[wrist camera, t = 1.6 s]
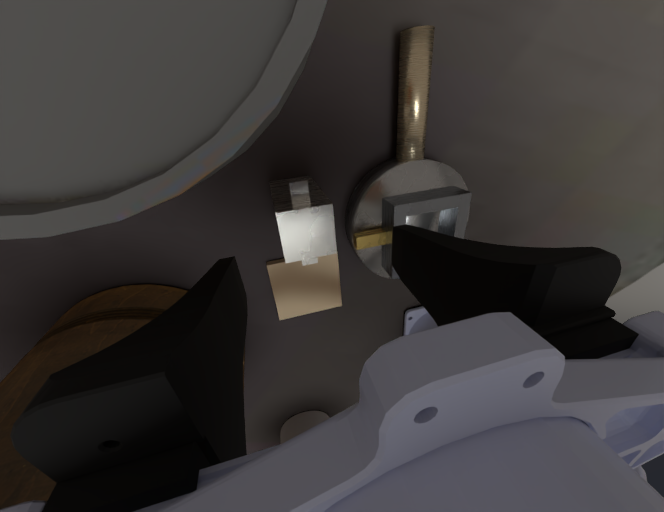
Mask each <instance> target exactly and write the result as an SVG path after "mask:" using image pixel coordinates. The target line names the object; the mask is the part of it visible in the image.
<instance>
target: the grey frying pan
mask: <svg viewBox="0 0 664 512" xmlns="http://www.w3.org/2000/svg"><path fill="white" fill-rule="evenodd" d="M434 29H435V27H434V26H430V25H428V26H417V27H412V28H408V29H405V30H402V31H401V32H400V58H399V88H398V118H397V148H396V157H394V158H392V159H389V160H386V161H384V162H382V163H381V164H379V165H377V166H376V167H374V168H373V169H372V170H371V171H369V172H368V173H367V174H366V175H365V176H364V177H363V178H362V180H361V181H360V182H359V183H358V185H357V186H356V188H355V189H354V191H353V193H352V195H351V197H350V200H349V202H348V206H347V209H346V216H345V228H346V234H347V237H348V240H349V242H350V245H351V246H352V248H353V249H354V251H355V252H356V253H357V255H358V256H359V258H360V259H361V260H362V262H363V263H364V264H365V265H366V267H367V268H368V269H370V270H371V271H372V272H374V273H375V274H377V275H379V276H382V277H385V278H390V279H392V278H391V277H390V276H389V275H388V273H387V272H386V271H385V270H384V268H383V267H382V266H381V259H382V245H380V246H375V247H370V248H365V249H360V250H357V249H356V248H355V247H354V243H353V233H359V232H364V231H369V230H374V229H380V228H382V197H388V196H394V195H400V194H406V193H412V192H418V191H424V190H430V189H436V188H442V187H448V186H456V187H459V188H461V189H464V190H467V191H468V189H467V186H466V184H465V182H464V180H463V179H462V177H461V176H460V175H459V174H458V173H457V172H456V171H455V170H454V169H453V168H451V167H450V166H448V165H446V164H444V163H441V162H437V161H434V160H430V159H427V158H424V151H425V138H426V126H427V114H428V102H429V90H430V78H431V65H432V53H433V41H434ZM469 211H470V207H469ZM439 217H440V211H434V212H429V213H424V214H418V215H413V216H407V217H406V225H412V226H416V227H420V228H424V229H428V230H431V231H435V232H438V225H439ZM468 218H469V212H468ZM468 218H467V222H468ZM466 225H467V224H466ZM394 279H400V278H394Z"/></svg>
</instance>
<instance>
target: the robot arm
mask: <svg viewBox="0 0 664 512" xmlns="http://www.w3.org/2000/svg"><path fill="white" fill-rule="evenodd" d="M391 264H392V266H393V268H394V269H395V271H396V273H397V274H398V276H399V278H400V279H401V280H402V282H403V283H404V284H405V285H406V287H407V288H408V289H409V290H410V291H411V293H412V294H413V295H414V296H415V297H416V299H417V300H418V301H419V302H420V303H421V304H422V306H421V307H417V308H413V309H409V310H407V311H406V312H405V319H404V334H403V336H401V337H399V338H397V339H395V340H392V341H390V342H388V343H386V344H384V345H382V346H380V347H379V348H378V349H377V350H376V351H375V352H374V353H373V354H372V355H371V356H370V357H369V358H368V359H367V361H366V362H365V363H364V367H363V370H362V373H361V376H360V379H359V385H360V399H359V402H358V403H356V404H354V405H353V406H351V407H349V408H347V409H345V410H343V411H342V412H340V413H338V414H336V415H334V416H332V417H330V418H329V419H327V420H325V421H323V422H321V423H319V424H318V425H316V426H314V427H312V428H310V429H308V430H306V431H305V432H303V433H301V434H299V435H297V436H295V437H293V438H292V439H290V440H288V441H286V442H284V443H282V444H280V445H276V446H273V447H270V448H267V449H264V450H261V451H257V452H254V453H251V454H248V455H247V454H246V438H245V419H244V394H243V357H244V346H245V336H246V325H247V298H246V292H245V289H244V286H243V282H242V279H241V276H240V272H239V269H238V266H237V263H236V259H235V256H234V257H229V258H224V259H219V260H218V261H217V262H216V263H215V264H214V265H213V266H212V268H211V269H210V270H209V271H208V272H207V273H206V274H205V275H204V276H203V277H202V278H201V279H200V280H199V281H198V282H197V283H196V284H195V285H194V286H193V287H192V288H191V289H190V290H189V291H188V292H187V293H186V294H185V295H184V296H183V297H182V298H180V299H179V300H178V301H177V302H176V303H175V304H173V305H172V306H171V307H170V308H168V309H167V310H166V311H164V312H163V313H162V314H160V315H159V316H158V317H156V318H155V319H153V320H152V321H150V322H149V323H147V324H146V325H144V326H142V327H141V328H139V329H138V330H136V331H135V332H133V333H132V334H130V335H128V336H126V337H125V338H123V339H121V340H120V341H118V342H116V343H114V344H112V345H110V346H109V347H107V348H105V349H103V350H101V351H99V352H97V353H95V354H93V355H91V356H89V357H87V358H85V359H83V360H81V361H79V362H77V363H74V364H72V365H70V366H68V367H66V368H64V369H62V370H60V371H57V372H55V373H53V374H51V375H50V376H49V378H48V379H47V380H46V382H45V383H44V384H43V386H42V387H41V388H40V390H39V391H38V392H37V394H36V395H35V396H34V398H33V399H32V400H31V402H30V403H29V404H28V406H27V407H26V408H25V410H24V411H23V412H22V414H21V415H20V416H19V417H18V419H17V420H16V421H15V423H14V424H13V427H12V431H11V434H10V437H11V440H12V444H13V446H14V448H15V449H16V450H17V452H18V453H19V454H20V455H21V456H22V457H23V458H24V459H26V460H27V461H28V462H30V463H31V464H32V465H34V466H35V467H36V468H38V469H39V470H40V471H41V472H43V473H44V474H45V475H47V476H48V477H49V478H51V479H52V480H53V481H55V482H56V485H55V487H54V489H53V491H52V493H51V495H50V497H49V499H48V501H47V502H46V501H37V500H33V501H28V502H23V503H20V504H16V505H13V506H10V507H7V508H3V509H0V512H664V498H663V497H662V496H661V495H660V494H659V493H658V492H657V491H656V490H655V489H654V488H652V486H650V485H649V484H648V483H647V478H646V474H645V471H644V469H643V468H642V467H641V465H642V464H644V463H646V462H648V461H650V460H652V459H654V458H656V457H658V456H659V455H661V454H663V453H664V314H663V313H662V312H660V311H652V312H649V313H646V314H643V315H639V316H636V317H633V318H631V319H628V320H627V321H626V322H624V323H623V324H621V323H619V322H617V321H616V320H614V319H613V318H611V317H614V316H615V314H616V313H615V311H614V310H612V309H610V308H608V307H606V306H605V303H606V302H607V300H608V298H609V296H610V294H611V292H612V290H613V289H614V287H615V285H616V283H617V281H618V278H619V276H620V272H621V264H620V260H619V258H618V257H617V256H616V255H615V254H612V253H610V252H607V251H605V250H603V249H600V248H596V247H571V248H534V247H517V246H506V245H497V244H489V243H483V242H477V241H471V240H467V239H462V238H458V237H454V236H450V235H446V234H442V233H438V232H435V231H431V230H428V229H424V228H420V227H416V226H412V225H406V224H404V225H399V226H394V227H393V231H392V263H391ZM409 317H410V318H409Z"/></svg>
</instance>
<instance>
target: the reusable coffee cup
mask: <svg viewBox="0 0 664 512" xmlns="http://www.w3.org/2000/svg"><path fill="white" fill-rule="evenodd" d="M326 3H327V0H0V240H4V239H22V238H40V237H50V236H55V235H59V234H64V233H68V232H73V231H77V230H82V229H86V228H91V227H95V226H100V225H104V224H109V223H113V222H118V221H121V220H123V219H126V218H128V217H130V216H133V215H135V214H137V213H139V212H142V211H144V210H146V209H149V208H151V207H153V206H155V205H158V204H160V203H162V202H165V201H167V200H169V199H171V198H174V197H176V196H178V195H181V194H182V193H184V192H186V191H187V190H189V189H191V188H192V187H194V186H196V185H197V184H199V183H201V182H202V181H204V180H206V179H208V178H209V177H211V176H212V175H214V174H215V173H216V172H218V171H219V170H221V169H222V168H223V167H225V166H226V165H227V164H229V163H230V162H232V161H233V160H234V159H236V158H237V157H238V156H240V155H241V154H243V153H244V152H245V151H247V150H248V149H249V148H250V146H251V145H252V144H253V143H254V142H255V141H256V140H257V138H258V137H259V136H260V135H261V134H262V133H263V132H264V131H265V129H266V128H267V127H268V126H269V125H270V124H271V123H272V121H273V120H274V119H275V118H276V117H277V116H278V114H279V113H280V111H281V109H282V107H283V106H284V104H285V102H286V100H287V98H288V97H289V95H290V93H291V91H292V90H293V88H294V86H295V84H296V83H297V81H298V79H299V77H300V75H301V74H302V72H303V70H304V67H305V64H306V62H307V59H308V56H309V53H310V50H311V47H312V44H313V41H314V38H315V36H316V33H317V30H318V27H319V24H320V21H321V18H322V15H323V12H324V9H325V6H326Z"/></svg>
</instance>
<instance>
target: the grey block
mask: <svg viewBox="0 0 664 512" xmlns="http://www.w3.org/2000/svg"><path fill="white" fill-rule="evenodd" d="M269 184H270V189H271V194H272V199H273V204H274V209H275V214H276V219H277V224H278V229H279V234H280V239H281V244H282V248H283V253H284V258H285V263H291V262H296V261H301V263H302V266H305V265H310V264H314V263H318V258H317V257H321V256H326V255H331V254H336V253H337V248H336V236H335V225H334V213H333V204H332V202H331V201H330V200H329V199H328V197H327V196H326V195H325V194H324V193H323V191H322V190H321V189H320V188H319V187H318V185H317V184H316V183H315V182H314V181H313V179H312V178H311V177H310V176H303V177H296V178H289V179H282V180H275V181H269Z"/></svg>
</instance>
